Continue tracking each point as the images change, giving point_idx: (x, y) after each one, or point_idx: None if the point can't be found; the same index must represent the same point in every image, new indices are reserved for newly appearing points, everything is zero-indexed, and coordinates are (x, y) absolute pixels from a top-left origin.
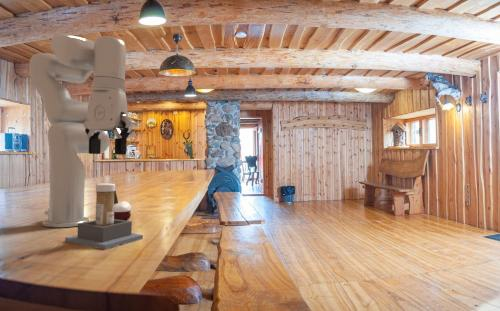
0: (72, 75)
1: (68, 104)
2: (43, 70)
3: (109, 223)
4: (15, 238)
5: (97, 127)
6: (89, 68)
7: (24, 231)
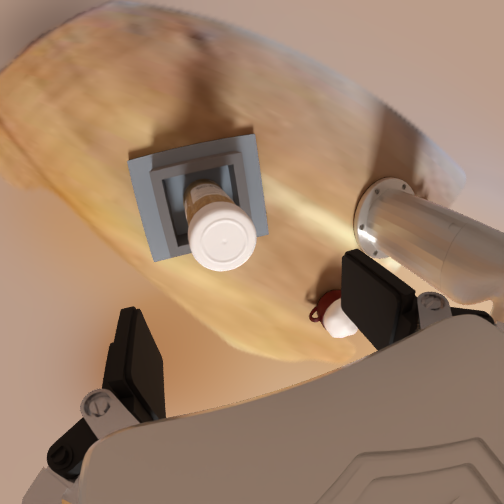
0: None
1: None
2: None
3: (184, 206)
4: (347, 94)
5: (343, 379)
6: None
7: (384, 135)
